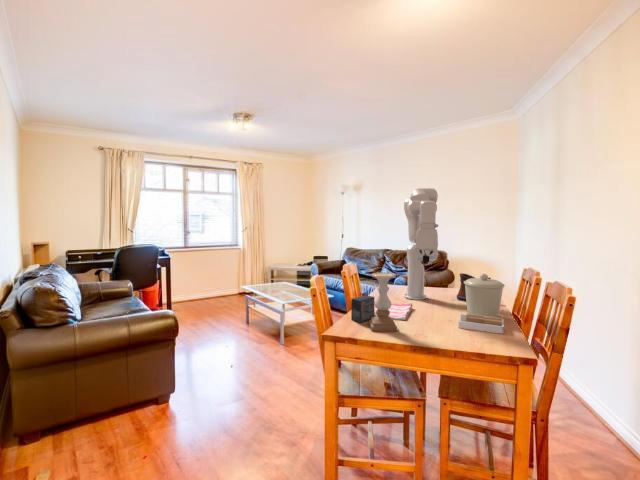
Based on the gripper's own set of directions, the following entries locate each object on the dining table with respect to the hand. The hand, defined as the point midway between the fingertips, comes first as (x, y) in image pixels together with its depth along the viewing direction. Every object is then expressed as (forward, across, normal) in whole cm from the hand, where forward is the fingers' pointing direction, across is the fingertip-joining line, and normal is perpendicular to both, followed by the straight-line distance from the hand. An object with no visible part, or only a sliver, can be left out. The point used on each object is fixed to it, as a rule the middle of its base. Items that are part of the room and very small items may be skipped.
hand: (425, 263), depth 174 cm
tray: (+25, -26, +10) cm, 37 cm away
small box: (+25, +25, +22) cm, 42 cm away
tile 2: (+25, -30, +10) cm, 41 cm away
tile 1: (+25, -24, +10) cm, 36 cm away
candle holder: (+25, +14, +30) cm, 41 cm away
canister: (+26, -26, -7) cm, 38 cm away
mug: (+27, -21, -39) cm, 52 cm away
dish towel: (+26, +15, +5) cm, 31 cm away
